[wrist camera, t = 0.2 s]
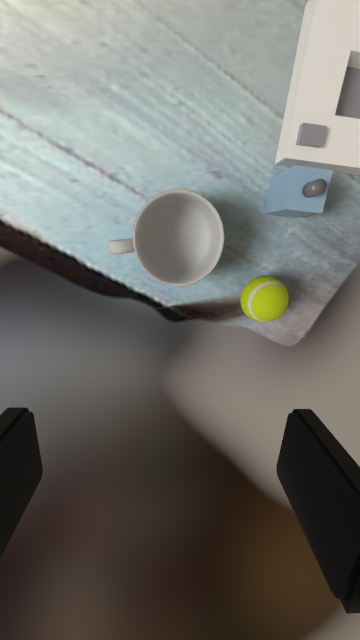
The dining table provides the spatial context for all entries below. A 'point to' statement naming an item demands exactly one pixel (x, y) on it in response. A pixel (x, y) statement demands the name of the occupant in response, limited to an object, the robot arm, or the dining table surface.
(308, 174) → the plug
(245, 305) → the tennis ball
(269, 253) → the dining table surface
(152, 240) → the teacup
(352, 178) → the dining table surface
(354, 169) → the socket
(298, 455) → the robot arm
